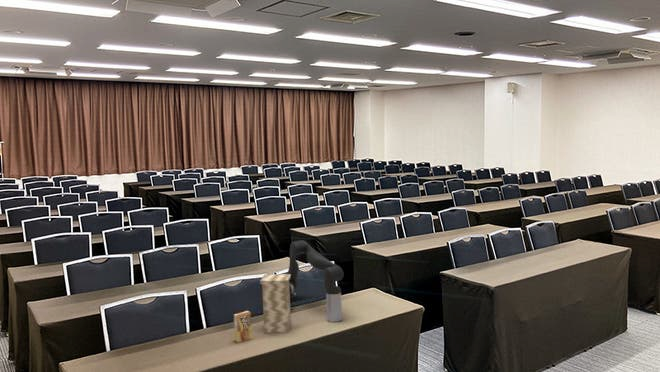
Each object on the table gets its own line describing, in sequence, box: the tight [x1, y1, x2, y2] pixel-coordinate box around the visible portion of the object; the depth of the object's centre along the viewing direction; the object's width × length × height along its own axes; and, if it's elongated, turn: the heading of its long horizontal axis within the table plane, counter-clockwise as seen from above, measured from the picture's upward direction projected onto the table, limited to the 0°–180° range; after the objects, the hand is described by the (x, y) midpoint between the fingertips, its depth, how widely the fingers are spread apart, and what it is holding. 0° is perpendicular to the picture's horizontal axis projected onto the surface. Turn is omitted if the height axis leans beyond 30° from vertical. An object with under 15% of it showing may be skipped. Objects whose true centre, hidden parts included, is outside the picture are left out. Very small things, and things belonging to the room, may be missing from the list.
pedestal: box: [259, 273, 292, 334], centre depth 299 cm, size 16×14×31 cm
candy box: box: [233, 310, 253, 343], centre depth 285 cm, size 9×4×15 cm, turn 129°
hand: (283, 298), depth 324 cm, fingers closed on toggle bar, 3 cm apart
